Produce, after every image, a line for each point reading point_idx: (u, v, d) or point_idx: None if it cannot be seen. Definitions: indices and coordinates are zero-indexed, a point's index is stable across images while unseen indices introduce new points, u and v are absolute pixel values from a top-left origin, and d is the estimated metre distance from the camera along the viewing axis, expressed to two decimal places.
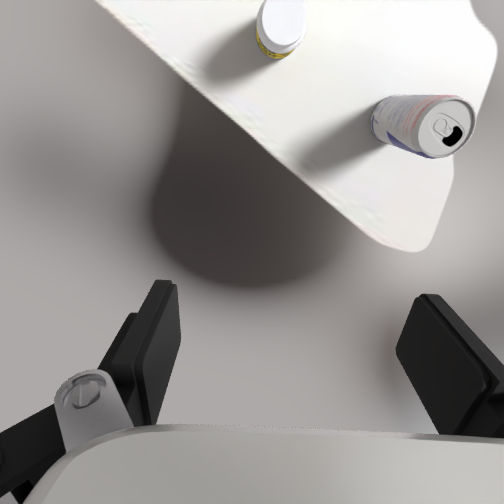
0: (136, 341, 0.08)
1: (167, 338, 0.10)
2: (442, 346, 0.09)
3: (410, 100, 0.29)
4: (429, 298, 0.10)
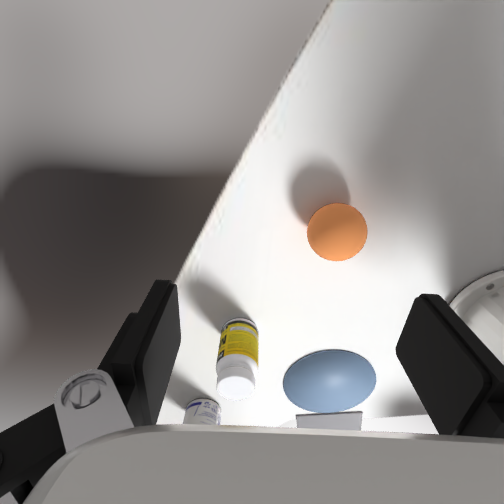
0: (136, 341, 0.08)
1: (167, 338, 0.10)
2: (442, 346, 0.09)
3: None
4: (429, 298, 0.10)
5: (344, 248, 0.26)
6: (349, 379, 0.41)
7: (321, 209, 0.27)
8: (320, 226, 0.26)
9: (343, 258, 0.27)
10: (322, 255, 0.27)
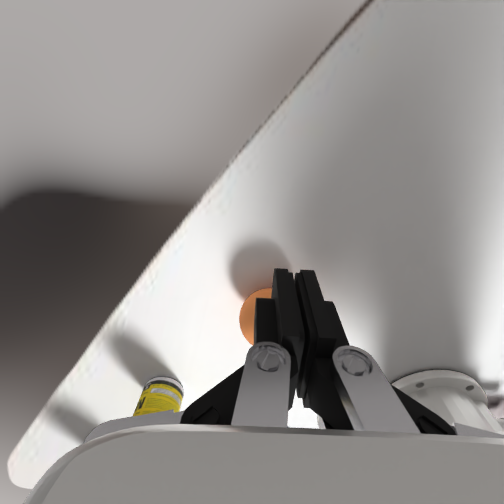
0: (292, 318, 0.09)
1: None
2: (300, 313, 0.10)
3: None
4: (302, 273, 0.12)
5: None
6: None
7: (256, 294, 0.26)
8: (250, 315, 0.24)
9: None
10: (250, 343, 0.26)
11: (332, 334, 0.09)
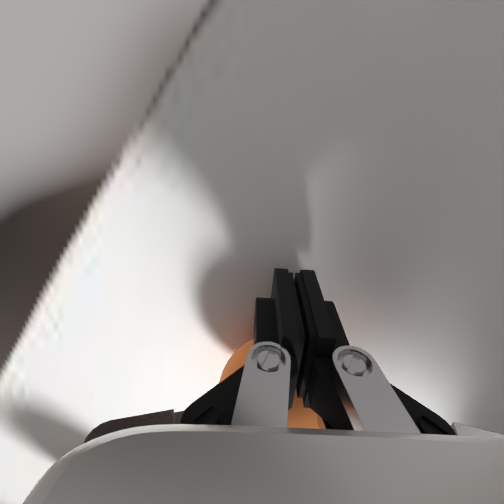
0: (292, 318, 0.09)
1: None
2: (300, 313, 0.10)
3: None
4: (302, 273, 0.12)
5: None
6: None
7: None
8: None
9: None
10: None
11: (332, 334, 0.09)
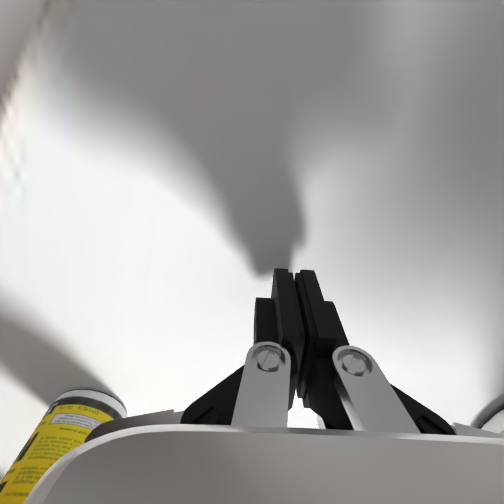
0: (292, 318, 0.09)
1: None
2: (300, 313, 0.10)
3: None
4: (302, 273, 0.12)
5: None
6: None
7: None
8: None
9: None
10: None
11: (332, 334, 0.09)
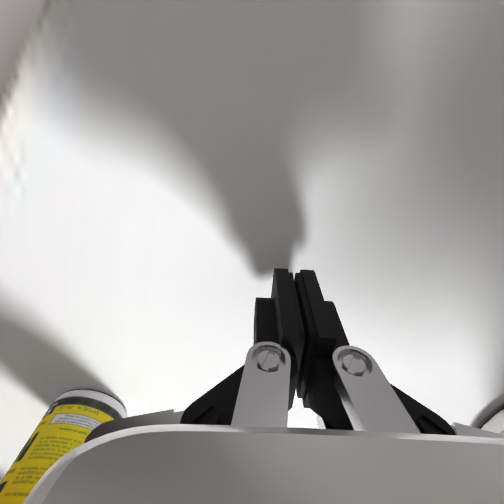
0: (292, 318, 0.09)
1: None
2: (300, 313, 0.10)
3: None
4: (302, 273, 0.12)
5: None
6: None
7: None
8: None
9: None
10: None
11: (332, 334, 0.09)
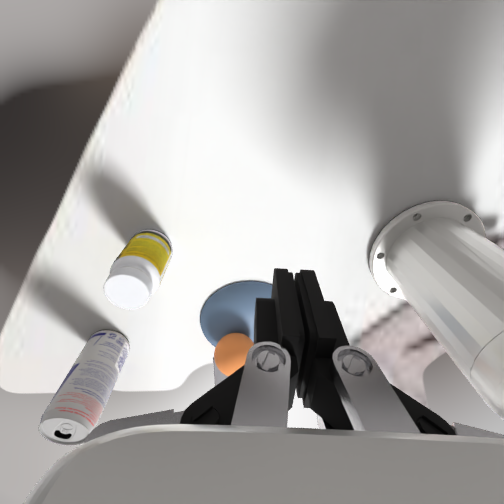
0: (292, 318, 0.09)
1: None
2: (300, 313, 0.10)
3: (101, 380, 0.33)
4: (302, 273, 0.12)
5: None
6: None
7: None
8: None
9: (239, 335, 0.38)
10: (224, 338, 0.37)
11: (332, 334, 0.09)
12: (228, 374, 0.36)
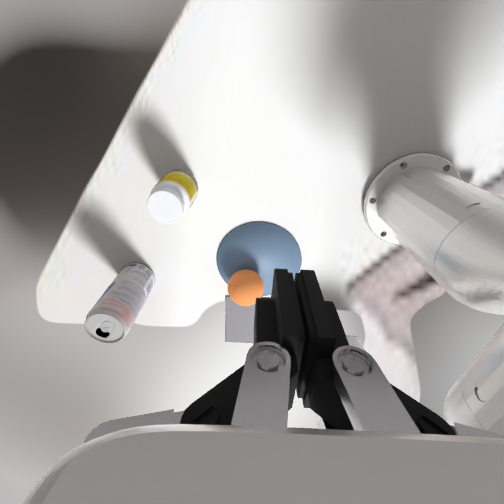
0: (292, 318, 0.09)
1: None
2: (300, 313, 0.10)
3: (133, 295, 0.40)
4: (302, 273, 0.12)
5: None
6: (277, 258, 0.45)
7: None
8: None
9: (249, 270, 0.44)
10: (237, 272, 0.44)
11: (332, 334, 0.09)
12: (239, 301, 0.43)
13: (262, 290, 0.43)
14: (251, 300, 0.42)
